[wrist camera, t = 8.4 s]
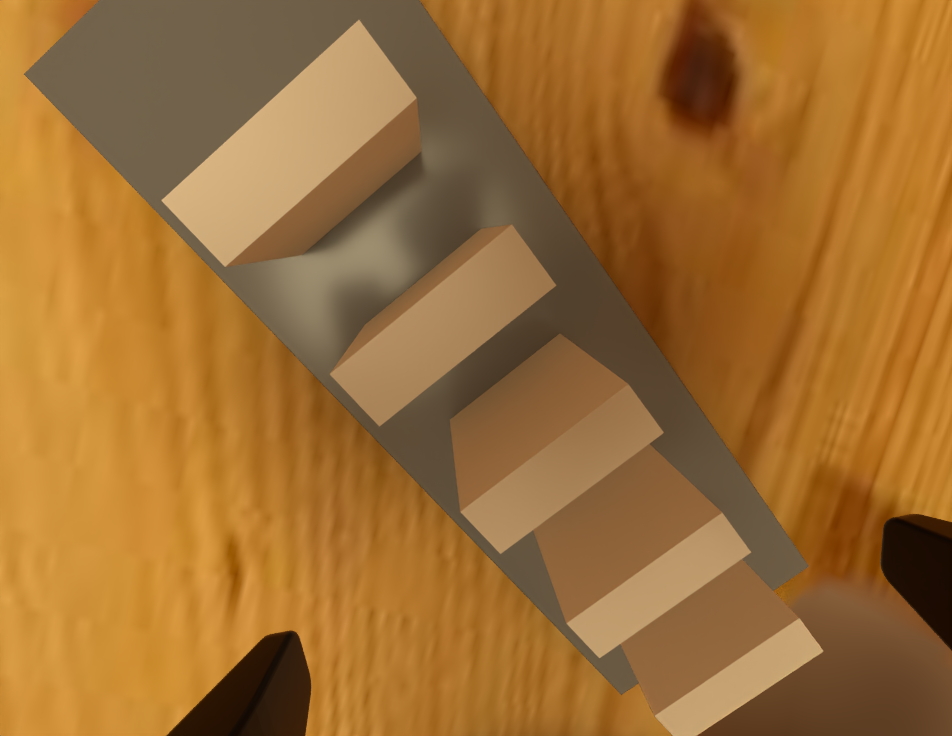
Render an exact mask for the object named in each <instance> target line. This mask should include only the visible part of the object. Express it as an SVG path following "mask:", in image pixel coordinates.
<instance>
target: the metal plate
mask: <svg viewBox="0 0 952 736" xmlns="http://www.w3.org/2000/svg"><path fill="white" fill-rule="evenodd" d="M358 20H360V22H361V23H362V24H363V26H364V27H365V28H366V30H367V31H368V32H369V34H370V35H371V37H372V38H373V39H374V41H375V42H376V43H377V45H378V46H379V47H380V49H381V50H382V51H383V53H384V54H385V55H386V57H387V58H388V60H389V61H390V62H391V64H392V65H393V66H394V68H395V69H396V70H397V72H398V73H399V74H400V76H401V77H402V79H403V80H404V81H405V83H406V84H407V85H408V87H409V88H410V89H411V91H412V92H413V93H414V95H415V96H416V98H417V105H418V117H419V129H420V141H421V152H420V153H419V154H418V155H417V156H416V157H414V158H413V159H412V160H411V161H410V162H409V163H408V164H406V165H405V166H404V167H403V168H402V169H401V170H399V171H398V172H397V173H396V174H395V175H394V176H393V177H391V178H390V179H389V180H388V181H387V182H386V183H384V184H383V185H382V186H381V187H380V188H379V189H378V190H376V191H375V192H374V193H373V194H372V195H371V196H369V197H368V198H367V199H366V200H365V201H364V202H363V203H361V204H360V205H359V206H358V207H357V208H356V209H354V210H353V211H352V212H351V213H350V214H349V215H347V216H346V217H345V218H344V219H343V220H342V221H341V222H339V223H338V224H337V225H336V226H335V227H334V228H332V229H331V230H330V231H329V232H328V233H327V234H326V235H324V236H323V237H322V238H321V239H320V240H319V241H317V242H316V243H315V244H314V245H313V246H312V247H311V248H309V249H308V250H307V251H306V252H305V253H304V254H302V255H300V256H294V257H287V258H281V259H274V260H268V261H261V262H255V263H248V264H242V265H235V266H229V267H225V266H224V265H223V264H222V263H221V262H220V261H219V260H218V259H217V258H216V257H215V256H214V255H213V254H212V253H211V252H210V251H209V250H208V249H207V248H206V247H205V246H204V245H203V244H202V243H201V241H200V240H199V239H198V238H197V237H196V236H195V235H194V234H193V233H192V232H191V231H190V230H189V229H188V228H187V227H186V226H185V225H184V224H183V223H182V222H181V221H180V220H179V219H178V217H177V216H176V215H175V214H174V213H173V212H172V211H171V210H170V209H169V208H168V207H167V206H166V205H165V204H164V203H163V202H162V201H161V200H162V199H163V198H165V197H166V196H167V195H168V194H169V193H170V192H171V191H172V190H173V189H174V188H175V187H177V186H178V185H179V184H180V183H181V182H182V181H183V180H184V179H185V178H186V177H187V176H189V175H190V174H191V173H192V172H193V171H194V170H195V169H196V168H197V167H198V166H200V165H201V164H202V163H203V162H204V161H205V160H206V159H207V158H208V157H209V156H210V155H212V154H213V153H214V152H215V151H216V150H217V149H218V148H219V147H220V146H221V145H222V144H224V143H225V142H226V141H227V140H228V139H229V138H230V137H231V136H232V135H233V134H234V133H236V132H237V131H238V130H239V129H240V128H241V127H242V126H243V125H244V124H245V123H247V122H248V121H249V120H250V119H251V118H252V117H253V116H254V115H255V114H256V113H257V112H259V111H260V110H261V109H262V108H263V107H264V106H265V105H266V104H267V103H268V102H269V101H271V100H272V99H273V98H274V97H275V96H276V95H277V94H278V93H279V92H280V91H281V90H283V89H284V88H285V87H286V86H287V85H288V84H289V83H290V82H291V81H292V80H294V79H295V78H296V77H297V76H298V75H299V74H300V73H301V72H302V71H303V70H304V69H306V68H307V67H308V66H309V65H310V64H311V63H312V62H313V61H314V60H315V59H316V58H318V57H319V56H320V55H321V54H322V53H323V52H324V51H325V50H326V49H327V48H328V47H330V46H331V45H332V44H333V43H334V42H335V41H336V40H337V39H338V38H339V37H341V36H342V35H343V34H344V33H345V32H346V31H347V30H348V29H349V28H350V27H351V26H353V25H354V24H355V23H356V22H357V21H358ZM24 75H25V76H26V77H27V78H28V79H29V80H30V81H31V82H32V83H33V84H34V85H35V86H36V87H37V88H38V89H39V90H40V91H41V92H42V93H43V94H44V95H45V96H46V97H47V99H48V100H49V101H50V102H51V103H52V104H53V105H54V106H55V107H56V108H57V109H58V110H59V111H60V112H61V113H62V114H63V115H64V116H65V117H66V118H67V119H68V120H69V121H70V122H71V123H72V125H73V126H74V127H75V128H76V129H77V130H78V131H79V132H80V133H81V134H82V135H83V136H84V137H85V138H86V139H87V140H88V141H89V142H90V143H91V144H92V145H93V146H94V147H95V148H96V149H97V150H98V152H99V153H100V154H101V155H102V156H103V157H104V158H105V159H106V160H107V161H108V162H109V163H110V164H111V165H112V166H113V167H114V168H115V169H116V170H117V171H118V172H119V173H120V174H121V175H122V176H123V177H124V179H125V180H126V181H127V182H128V183H129V184H130V185H131V186H132V187H133V188H134V189H135V190H136V191H137V192H138V193H139V194H140V195H141V196H142V197H143V198H144V199H145V200H146V201H147V202H148V203H149V205H150V206H151V207H152V208H153V209H154V210H155V211H156V212H157V213H158V214H159V215H160V216H161V217H162V218H163V219H164V220H165V221H166V222H167V223H168V224H169V225H170V226H171V227H172V228H173V229H174V230H175V232H176V233H177V234H178V235H179V236H180V237H181V238H182V239H183V240H184V241H185V242H186V243H187V244H188V245H189V246H190V247H191V248H192V249H193V250H194V251H195V252H196V253H197V254H198V255H199V256H200V257H201V259H202V260H203V261H204V262H205V263H206V264H207V265H208V266H209V267H210V268H211V269H212V270H213V271H214V272H215V273H216V274H217V275H218V276H219V277H220V278H221V279H222V280H223V281H224V282H225V283H226V285H227V286H228V287H229V288H230V289H231V290H232V291H233V292H234V293H235V294H236V295H237V296H238V297H239V298H240V299H241V300H242V301H243V302H244V303H245V304H246V305H247V306H248V307H249V308H250V309H251V310H252V312H253V313H254V314H255V315H256V316H257V317H258V318H259V319H260V320H261V321H262V322H263V323H264V324H265V325H266V326H267V327H268V328H269V329H270V330H271V331H272V332H273V333H274V334H275V335H276V336H277V337H278V339H279V340H280V341H281V342H282V343H283V344H284V345H285V346H286V347H287V348H288V349H289V350H290V351H291V352H292V353H293V354H294V355H295V356H296V357H297V358H298V359H299V360H300V361H301V362H302V363H303V365H304V366H305V367H306V368H307V369H308V370H309V371H310V372H311V373H312V374H313V375H314V376H315V377H316V378H317V379H318V380H319V381H320V382H321V383H322V384H323V385H324V386H325V387H326V388H327V389H328V390H329V392H330V393H331V394H332V395H333V396H334V397H335V398H336V399H337V400H338V401H339V402H340V403H341V404H342V405H343V406H344V407H345V408H346V409H347V410H348V411H349V412H350V413H351V414H352V415H353V416H354V417H355V419H356V420H357V421H358V422H359V423H360V424H361V425H362V426H363V427H364V428H365V429H366V430H367V431H368V432H369V433H370V434H371V435H372V436H373V437H374V438H375V439H376V440H377V441H378V442H379V443H380V445H381V446H382V447H383V448H384V449H385V450H386V451H387V452H388V453H389V454H390V455H391V456H392V457H393V458H394V459H395V460H396V461H397V462H398V463H399V464H400V465H401V466H402V467H403V468H404V469H405V470H406V472H407V473H408V474H409V475H410V476H411V477H412V478H413V479H414V480H415V481H416V482H417V483H418V484H419V485H420V486H421V487H422V488H423V489H424V490H425V491H426V492H427V493H428V494H429V495H430V496H431V497H432V499H433V500H434V501H435V502H436V503H437V504H438V505H439V506H440V507H441V508H442V509H443V510H444V511H445V512H446V513H447V514H448V515H449V516H450V517H451V518H452V519H453V520H454V521H455V522H456V523H457V525H458V526H459V527H460V528H461V529H462V530H463V531H464V532H465V533H466V534H467V535H468V536H469V537H470V538H471V539H472V540H473V541H474V542H475V543H476V544H477V545H478V546H479V547H480V548H481V549H482V550H483V552H484V553H485V554H486V555H487V556H488V557H489V558H490V559H491V560H492V561H493V562H494V563H495V564H496V565H497V566H498V567H499V568H500V569H501V570H502V571H503V572H504V573H505V574H506V575H507V576H508V577H509V579H510V580H511V581H512V582H513V583H514V584H515V585H516V586H517V587H518V588H519V589H520V590H521V591H522V592H523V593H524V594H525V595H526V596H527V597H528V598H529V599H530V600H531V601H532V602H533V603H534V605H535V606H536V607H537V608H538V609H539V610H540V611H541V612H542V613H543V614H544V615H545V616H546V617H547V618H548V619H549V620H550V621H551V622H552V623H553V624H554V625H555V626H556V627H557V628H558V629H559V630H560V632H561V633H562V634H563V635H564V636H565V637H566V638H567V639H568V640H569V641H570V642H571V643H572V644H573V645H574V646H575V647H576V648H577V649H578V650H579V651H580V652H581V653H582V654H583V655H584V656H585V657H586V659H587V660H588V661H589V662H590V663H591V664H592V665H593V666H594V667H595V668H596V669H597V670H598V671H599V672H600V673H601V674H602V675H603V676H604V677H605V678H606V679H607V680H608V681H609V682H610V683H611V685H612V686H613V687H614V688H615V689H616V690H617V691H618V692H619V693H620V694H621V695H622V694H623V693H625V692H626V691H628V690H629V689H631V688H632V687H634V686H635V685H636V684H638V683H639V682H638V680H637V678H636V676H635V674H634V672H633V670H632V668H631V665H630V663H629V661H628V659H627V657H626V655H625V653H624V651H623V648H622V646H621V644H619V645H618V646H616V647H615V648H614V649H612V650H611V651H609V652H608V653H606V654H605V655H604V656H602V657H601V658H599V657H598V656H597V655H596V654H595V653H594V652H593V651H592V650H591V649H590V648H589V647H588V646H587V645H586V644H585V643H584V642H583V640H582V639H581V638H580V637H579V636H578V635H577V634H576V633H575V632H574V631H573V630H572V629H571V628H570V627H569V626H568V625H567V624H566V621H565V618H564V615H563V613H562V610H561V607H560V604H559V601H558V599H557V596H556V593H555V590H554V587H553V584H552V582H551V579H550V576H549V573H548V570H547V568H546V565H545V562H544V559H543V556H542V554H541V551H540V548H539V545H538V542H537V539H536V537H535V534H534V531H533V530H532V531H531V532H530V533H528V534H527V535H525V536H524V537H523V538H521V539H520V540H519V541H517V542H516V543H515V544H513V545H512V546H511V547H509V548H508V549H507V550H505V551H504V552H503V553H501V554H500V553H499V552H498V551H497V550H496V549H495V548H494V547H493V546H492V545H491V544H490V543H489V542H488V540H487V539H486V538H485V537H484V536H483V535H482V534H481V533H480V532H479V531H478V530H477V529H476V528H475V527H474V526H473V525H472V524H471V523H470V522H469V520H468V519H467V518H466V517H465V516H464V515H463V514H462V513H461V512H460V505H459V497H458V488H457V479H456V470H455V462H454V453H453V444H452V436H451V427H450V419H451V418H453V417H454V416H455V415H457V414H458V413H459V412H460V411H462V410H463V409H464V408H465V407H467V406H468V405H469V404H471V403H472V402H473V401H474V400H476V399H477V398H478V397H479V396H481V395H482V394H483V393H485V392H486V391H487V390H488V389H490V388H491V387H492V386H493V385H495V384H496V383H497V382H499V381H500V380H501V379H502V378H504V377H505V376H506V375H508V374H509V373H510V372H511V371H513V370H514V369H515V368H516V367H518V366H519V365H520V364H522V363H523V362H524V361H525V360H527V359H528V358H529V357H530V356H532V355H533V354H534V353H536V352H537V351H538V350H539V349H541V348H542V347H543V346H544V345H546V344H547V343H548V342H550V341H551V340H552V339H553V338H555V337H556V336H557V335H558V334H562V335H563V336H564V337H566V338H567V339H568V340H570V341H571V342H572V343H574V344H575V345H576V346H578V347H579V348H580V349H582V350H583V351H585V352H586V353H587V354H589V355H590V356H591V357H593V358H594V359H595V360H597V361H598V362H599V363H601V364H602V365H603V366H605V367H606V368H607V369H609V370H610V371H611V372H613V373H614V374H616V375H617V376H618V377H620V378H621V379H622V380H624V381H625V382H626V383H628V384H629V386H630V387H631V388H632V390H633V391H634V392H635V394H636V395H637V397H638V398H639V399H640V401H641V402H642V403H643V405H644V406H645V407H646V409H647V410H648V412H649V413H650V414H651V416H652V417H653V418H654V420H655V421H656V423H657V424H658V425H659V427H660V428H661V429H662V431H663V432H664V433H663V434H662V435H660V436H659V437H658V438H656V439H655V440H654V441H652V442H651V443H650V445H651V446H652V447H653V448H654V449H655V450H656V451H657V452H659V453H660V454H661V455H662V456H663V457H664V458H665V459H666V460H667V461H668V462H669V463H670V464H671V465H672V466H673V467H674V468H675V469H677V470H678V471H679V472H680V473H681V474H682V475H683V476H684V477H685V478H686V479H687V480H688V481H689V482H690V483H691V484H692V485H694V486H695V487H696V488H697V489H698V490H699V491H700V492H701V493H702V494H703V495H704V496H705V497H706V498H707V499H708V500H709V501H711V502H712V503H713V504H714V505H715V506H716V507H717V508H718V509H719V510H720V511H721V512H722V513H723V514H724V516H725V517H726V518H727V520H728V521H729V523H730V524H731V525H732V527H733V528H734V529H735V531H736V532H737V533H738V535H739V536H740V538H741V539H742V540H743V542H744V543H745V544H746V546H747V547H748V549H749V550H750V551H751V553H750V554H748V555H747V556H745V557H744V558H742V560H743V561H744V562H745V563H746V564H747V565H748V566H749V567H750V568H751V569H752V570H753V571H754V572H755V573H756V574H757V575H758V576H759V577H760V578H761V579H762V580H763V581H764V582H765V583H766V584H767V585H768V586H769V587H770V588H771V589H772V590H773V591H774V590H775V589H776V588H778V587H779V586H781V585H782V584H784V583H785V582H787V581H788V580H790V579H791V578H793V577H794V576H795V575H797V574H798V573H800V572H801V571H803V570H804V569H806V568H807V567H809V566H808V564H807V563H806V561H805V560H804V558H803V557H802V556H801V554H800V553H799V551H798V550H797V548H796V547H795V545H794V544H793V542H792V541H791V540H790V538H789V537H788V535H787V534H786V532H785V531H784V529H783V528H782V526H781V525H780V524H779V522H778V521H777V519H776V518H775V516H774V515H773V513H772V512H771V511H770V509H769V508H768V506H767V505H766V503H765V502H764V500H763V499H762V497H761V496H760V495H759V493H758V492H757V490H756V489H755V487H754V486H753V484H752V483H751V481H750V480H749V479H748V477H747V476H746V474H745V473H744V471H743V470H742V468H741V467H740V465H739V464H738V463H737V461H736V460H735V458H734V457H733V455H732V454H731V452H730V451H729V449H728V448H727V447H726V445H725V444H724V442H723V441H722V439H721V438H720V436H719V435H718V434H717V432H716V431H715V429H714V428H713V426H712V425H711V423H710V422H709V420H708V419H707V418H706V416H705V415H704V413H703V412H702V410H701V409H700V407H699V406H698V404H697V403H696V402H695V400H694V399H693V397H692V396H691V394H690V393H689V391H688V390H687V388H686V387H685V386H684V384H683V383H682V381H681V380H680V378H679V377H678V375H677V374H676V372H675V371H674V370H673V368H672V367H671V365H670V364H669V362H668V361H667V359H666V358H665V357H664V355H663V354H662V352H661V351H660V349H659V348H658V346H657V345H656V343H655V342H654V341H653V339H652V338H651V336H650V335H649V333H648V332H647V330H646V329H645V327H644V326H643V325H642V323H641V322H640V320H639V319H638V317H637V316H636V314H635V313H634V311H633V310H632V309H631V307H630V306H629V304H628V303H627V301H626V300H625V298H624V297H623V295H622V294H621V293H620V291H619V290H618V288H617V287H616V285H615V284H614V282H613V281H612V279H611V278H610V277H609V275H608V274H607V272H606V271H605V269H604V268H603V266H602V265H601V264H600V262H599V261H598V259H597V258H596V256H595V255H594V253H593V252H592V250H591V249H590V248H589V246H588V245H587V243H586V242H585V240H584V239H583V237H582V236H581V234H580V233H579V232H578V230H577V229H576V227H575V226H574V224H573V223H572V221H571V220H570V218H569V217H568V216H567V214H566V213H565V211H564V210H563V208H562V207H561V205H560V204H559V202H558V201H557V200H556V198H555V197H554V195H553V194H552V192H551V191H550V189H549V188H548V187H547V185H546V184H545V182H544V181H543V179H542V178H541V176H540V175H539V173H538V172H537V171H536V169H535V168H534V166H533V165H532V163H531V162H530V160H529V159H528V157H527V156H526V155H525V153H524V152H523V150H522V149H521V147H520V146H519V144H518V143H517V141H516V140H515V139H514V137H513V136H512V134H511V133H510V131H509V130H508V128H507V127H506V125H505V124H504V123H503V121H502V120H501V118H500V117H499V115H498V114H497V112H496V111H495V109H494V108H493V107H492V105H491V104H490V102H489V101H488V99H487V98H486V96H485V95H484V94H483V92H482V91H481V89H480V88H479V86H478V85H477V83H476V82H475V80H474V79H473V78H472V76H471V75H470V73H469V72H468V70H467V69H466V67H465V66H464V64H463V63H462V62H461V60H460V59H459V57H458V56H457V54H456V53H455V51H454V50H453V48H452V47H451V46H450V44H449V43H448V41H447V40H446V38H445V37H444V35H443V34H442V32H441V31H440V30H439V28H438V27H437V25H436V24H435V22H434V21H433V19H432V18H431V17H430V15H429V14H428V12H427V11H426V9H425V8H424V6H423V5H422V3H421V2H420V1H419V0H99V1H98V2H97V3H96V4H95V5H94V6H93V7H92V8H91V9H90V10H89V11H88V12H87V13H86V14H85V15H84V16H83V17H82V18H81V19H80V20H79V21H78V22H77V23H76V24H75V25H74V26H73V27H72V28H71V29H70V30H69V31H68V32H67V33H66V34H65V35H64V36H63V37H62V38H60V39H59V40H58V41H57V42H56V43H55V44H54V45H53V46H52V47H51V48H50V49H49V50H48V51H47V52H46V53H45V54H44V55H43V56H42V57H41V58H40V59H39V60H38V61H37V62H36V63H35V64H34V65H33V66H32V67H31V68H30V69H29V70H28V71H27V72H26V73H25V74H24ZM504 225H513V227H514V228H515V229H516V231H517V232H518V234H519V235H520V236H521V238H522V239H523V240H524V242H525V243H526V244H527V246H528V247H529V249H530V250H531V251H532V253H533V254H534V255H535V257H536V258H537V260H538V261H539V262H540V264H541V265H542V266H543V268H544V269H545V270H546V272H547V273H548V275H549V276H550V277H551V279H552V280H553V281H554V283H555V284H556V286H555V287H554V288H553V289H551V290H550V291H549V292H548V293H546V294H545V295H544V296H543V297H541V298H540V299H539V300H538V301H536V302H535V303H534V304H533V305H531V306H530V307H529V308H528V309H526V310H525V311H524V312H523V313H521V314H520V315H519V316H518V317H516V318H515V319H514V320H513V321H511V322H510V323H509V324H507V325H506V326H505V327H504V328H502V329H501V330H500V331H499V332H497V333H496V334H495V335H494V336H492V337H491V338H490V339H489V340H487V341H486V342H485V343H484V344H482V345H481V346H480V347H479V348H477V349H476V350H475V351H474V352H472V353H471V354H470V355H469V356H467V357H466V358H465V359H464V360H462V361H461V362H460V363H459V364H457V365H456V366H455V367H454V368H452V369H451V370H450V371H449V372H447V373H446V374H445V375H444V376H442V377H441V378H440V379H438V380H437V381H436V382H435V383H433V384H432V385H431V386H430V387H428V388H427V389H426V390H425V391H423V392H422V393H421V394H420V395H418V396H417V397H416V398H415V399H413V400H412V401H411V402H410V403H408V404H407V405H406V406H405V407H403V408H402V409H401V410H400V411H398V412H397V413H396V414H395V415H393V416H392V417H391V418H390V419H388V420H387V421H386V422H385V423H383V424H382V425H381V426H380V427H379V426H378V425H377V424H376V423H375V422H374V420H373V419H372V418H371V417H370V416H369V415H368V414H367V413H366V412H365V411H364V410H363V409H362V408H361V407H360V406H359V405H358V404H357V403H356V402H355V400H354V399H353V398H352V397H351V396H350V395H349V394H348V393H347V392H346V391H345V390H344V389H343V388H342V387H341V386H340V385H339V384H338V383H337V382H336V380H335V379H334V378H333V377H332V376H331V375H330V373H331V372H332V370H333V369H334V367H335V366H336V365H337V363H338V362H339V360H340V359H341V358H342V356H343V355H344V353H345V352H346V351H347V349H348V348H349V346H350V345H351V344H352V342H353V341H354V339H355V338H356V337H357V335H358V334H359V332H360V331H361V330H362V328H363V327H364V325H365V324H366V323H368V322H369V321H370V320H371V319H372V318H374V317H375V316H376V315H377V314H379V313H380V312H381V311H382V310H383V309H385V308H386V307H387V306H388V305H389V304H391V303H392V302H393V301H394V300H395V299H397V298H398V297H399V296H400V295H402V294H403V293H404V292H405V291H406V290H408V289H409V288H410V287H411V286H412V285H414V284H415V283H416V282H417V281H418V280H420V279H421V278H422V277H423V276H425V275H426V274H427V273H428V272H429V271H431V270H432V269H433V268H434V267H435V266H437V265H438V264H439V263H440V262H441V261H443V260H444V259H445V258H446V257H448V256H449V255H450V254H451V253H452V252H454V251H455V250H456V249H457V248H458V247H460V246H461V245H462V244H463V243H464V242H466V241H467V240H468V239H469V238H471V237H472V236H473V235H474V234H475V233H477V232H478V231H479V230H480V229H482V228H490V227H497V226H504Z"/></svg>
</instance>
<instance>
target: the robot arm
mask: <svg viewBox="0 0 952 736" xmlns="http://www.w3.org/2000/svg"><path fill="white" fill-rule="evenodd" d="M881 569H882V571H883V574H884V576H885V577H886V579H887V580H888V582H889V583H890V584H891V585H892V586H893V587H894V588H895V589H896V590H897V592H898V593H899V594H900V595H901V596H902V597H903V598H904V599H905V600H906V601H907V602H908V604H909V605H910V606H911V607H912V608H913V609H914V610H915V611H916V612H917V613H918V614H919V616H920V617H921V618H922V619H923V620H924V621H925V622H926V623H927V624H928V625H929V626H930V627H931V629H932V630H933V631H934V632H935V633H936V634H937V635H938V636H939V637H940V638H941V639H942V641H943V642H944V643H945V644H946V645H947V646H948V647H949V648H950V649H951V650H952V522H949V521H945V520H941V519H937V518H932V517H928V516H924V515H920V514H909V515H904V516H899V517H893V518H890V519H889V520H887V521H886V523H885V524H884V528H883V539H882V551H881ZM310 696H311V678H310V673H309V669H308V666H307V662H306V659H305V655H304V652H303V648H302V645H301V641H300V638H299V636H298V634H297V633H296V632H295V631H285V632H280V633H274V634H270V635H267V636H265V637H264V638H263V639H262V640H260V641H259V642H258V644H257V645H256V646H255V647H254V648H253V649H252V650H251V651H250V652H249V653H248V654H247V655H246V656H245V657H244V658H243V659H242V660H241V661H240V662H239V663H238V664H237V665H236V666H235V667H234V668H233V669H232V670H231V671H230V672H229V673H228V674H227V675H226V676H225V677H224V678H223V679H222V680H221V681H220V682H219V683H218V684H217V685H216V686H215V687H214V688H213V689H212V690H211V691H210V692H209V693H208V694H207V695H206V696H205V697H204V698H203V699H202V700H201V701H200V702H199V703H198V704H197V705H196V706H195V707H194V708H193V709H192V710H191V711H190V712H189V713H188V714H187V715H186V716H185V717H184V718H183V719H182V720H181V721H180V722H179V723H178V724H177V725H176V726H175V727H174V728H173V729H172V730H171V731H170V733H169V734H168V735H167V736H305V733H306V726H307V718H308V711H309V703H310Z"/></svg>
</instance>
